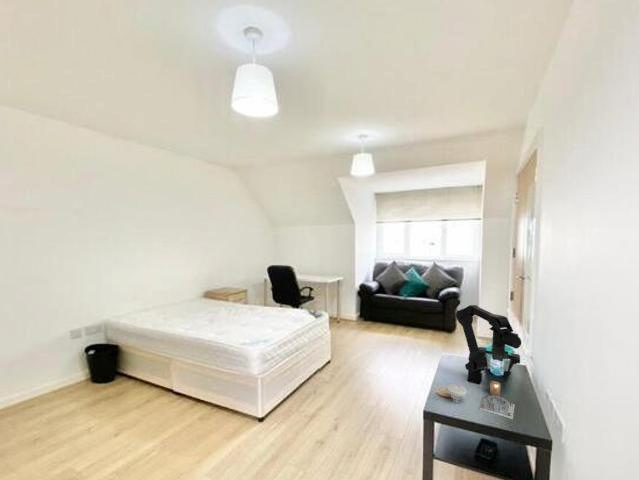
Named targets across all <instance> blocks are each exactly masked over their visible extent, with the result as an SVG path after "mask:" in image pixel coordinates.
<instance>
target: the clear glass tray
mask: <svg viewBox="0 0 639 480" xmlns="http://www.w3.org/2000/svg"><path fill="white" fill-rule="evenodd" d="M515 406H516V405H515V404H514V403H512V402H510V401H508V400H507V399H505V398H504V397H500V396H499V397H498V396H492V395H484V396H483V398H482V401H481V404H480V408H479V410H481V411H485V412H487V413H488V412H489V413H492V414H495V415H498V416H501V417H505V418H508V419H511V420H513V419H514V413H515Z"/></svg>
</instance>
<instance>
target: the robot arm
mask: <svg viewBox="0 0 639 480" xmlns="http://www.w3.org/2000/svg"><path fill="white" fill-rule="evenodd" d="M455 316H456V320H457V322H458V323H459V325H461V326H462V329H463V332H464V335H465V340H466V343H467V347H468V351H469V355H468V362H467V363H466V364H465V366H464V367H465V370H467V380H466V381H467V382H470V383H473V384H477V385H481V383H482V382H483V373H482V371H483V372H484V371H485V369H486V370H489V362H488V361H489V360H488V355H489V356H491V359H492V360H494V361H495V360H496V361H499V362H503V361H504V360H508V361H509V362H508V367H507V375H509V373H511V370H512V368H513V367H514V365H518V364H521V355H520V354H519V353H512V352H511V353H510V354H509V351H506V346H509V347H511V348H513V349H519V348H520V347H521V346H522V339H521V338H520V337H519V334H518V333H516V332H515V333H514V329H513V328H512V325H511V324H510V321H509V319H508V317H506V316H505V315H501V314H494V313H492V312H490V311H487V310H486V309H483V308H482V307H479V306H478V305H476V304H471V305H468V306H466V307H464V308H461V309H459V310H457V311H456V314H455ZM474 316H477V317H479V318H480V319H483V320H484V321H487V322H488V324H489V325H490V326H491V327H489V330H490V331H492V343H491V350H488V349H487V347H482V346H478V342H477V339H476V335H475V331H474V329H473V321H474Z"/></svg>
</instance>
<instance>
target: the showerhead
mask: <svg viewBox="0 0 639 480" xmlns="http://www.w3.org/2000/svg"><path fill="white" fill-rule="evenodd" d="M445 391H446V392H447V393H448V394H450V397H451V399H452V400H453V402H454V403H459V401H460V400H461V399H462V397H465V396H467V393H468V391H467V388H465V387H464V386H463V385H460V384H455V383H449V384H446V385H445Z"/></svg>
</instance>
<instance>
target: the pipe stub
mask: <svg viewBox="0 0 639 480" xmlns="http://www.w3.org/2000/svg"><path fill="white" fill-rule="evenodd" d="M489 394H490V395H489V396H498V397H500V396H501V383H500V382H499V381H496V380H491V381H490V382H489Z"/></svg>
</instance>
